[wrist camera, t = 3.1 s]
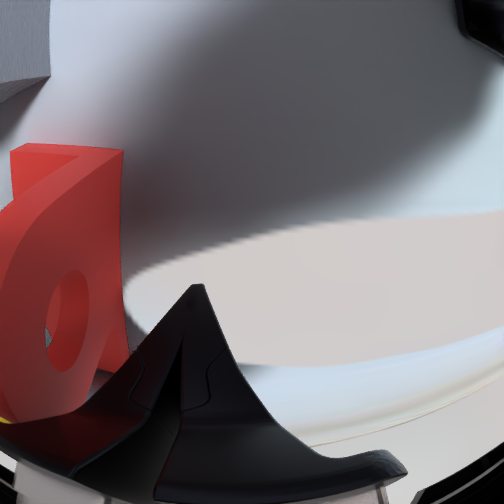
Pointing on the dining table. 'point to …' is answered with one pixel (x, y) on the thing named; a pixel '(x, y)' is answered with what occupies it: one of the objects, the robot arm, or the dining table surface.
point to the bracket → (59, 278)
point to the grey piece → (28, 68)
